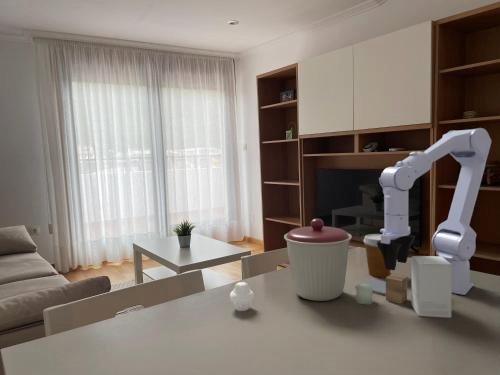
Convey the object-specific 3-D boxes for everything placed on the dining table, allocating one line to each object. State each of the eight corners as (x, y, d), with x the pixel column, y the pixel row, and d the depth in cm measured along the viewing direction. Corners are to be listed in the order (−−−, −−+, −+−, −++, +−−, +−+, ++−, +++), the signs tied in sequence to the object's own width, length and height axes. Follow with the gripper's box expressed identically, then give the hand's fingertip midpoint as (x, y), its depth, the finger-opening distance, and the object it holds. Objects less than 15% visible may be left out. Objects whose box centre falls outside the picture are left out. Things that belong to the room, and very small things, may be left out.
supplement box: (452, 318, 86) (452, 264, 85) (417, 316, 88) (417, 263, 87) (442, 305, 93) (442, 255, 92) (410, 304, 95) (410, 255, 94)
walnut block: (391, 295, 101) (391, 273, 100) (407, 299, 98) (407, 276, 98) (385, 300, 98) (385, 277, 98) (401, 303, 95) (401, 280, 95)
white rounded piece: (259, 307, 96) (258, 281, 95) (242, 315, 91) (241, 287, 91) (242, 302, 100) (241, 276, 100) (225, 309, 96) (224, 282, 95)
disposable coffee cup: (361, 269, 124) (361, 233, 123) (391, 269, 123) (391, 233, 122) (366, 279, 115) (365, 240, 114) (398, 279, 113) (398, 240, 112)
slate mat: (369, 280, 114) (369, 278, 114) (399, 286, 108) (399, 284, 108) (355, 288, 107) (355, 286, 107) (386, 295, 101) (386, 293, 101)
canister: (277, 302, 99) (274, 223, 97) (295, 280, 115) (293, 212, 114) (347, 311, 92) (346, 226, 90) (356, 286, 109) (355, 214, 107)
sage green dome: (360, 297, 101) (360, 282, 100) (375, 300, 98) (375, 285, 98) (353, 301, 98) (353, 286, 97) (368, 305, 95) (368, 290, 95)
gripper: (392, 209, 104) (392, 257, 105) (368, 216, 94) (369, 269, 95) (418, 210, 100) (418, 261, 101) (397, 218, 89) (397, 275, 90)
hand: (396, 265), depth 97 cm, fingers open, 7 cm apart
